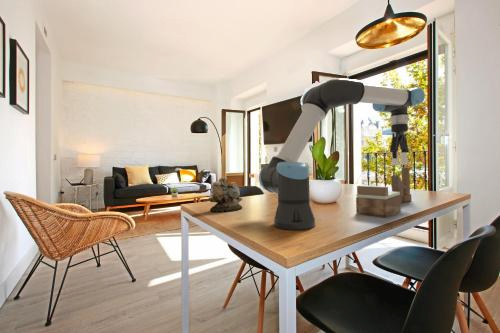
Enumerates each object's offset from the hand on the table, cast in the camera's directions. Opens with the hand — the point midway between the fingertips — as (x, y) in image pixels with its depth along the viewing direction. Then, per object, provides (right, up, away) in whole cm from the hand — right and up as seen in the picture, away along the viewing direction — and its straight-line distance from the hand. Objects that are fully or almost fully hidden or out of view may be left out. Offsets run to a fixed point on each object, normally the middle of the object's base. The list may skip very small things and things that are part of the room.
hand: (399, 164), depth 133 cm
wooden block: (+2, -20, +1) cm, 20 cm away
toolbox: (-22, -21, -22) cm, 38 cm away
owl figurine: (-91, -23, -4) cm, 94 cm away
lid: (-23, -14, -23) cm, 35 cm away
